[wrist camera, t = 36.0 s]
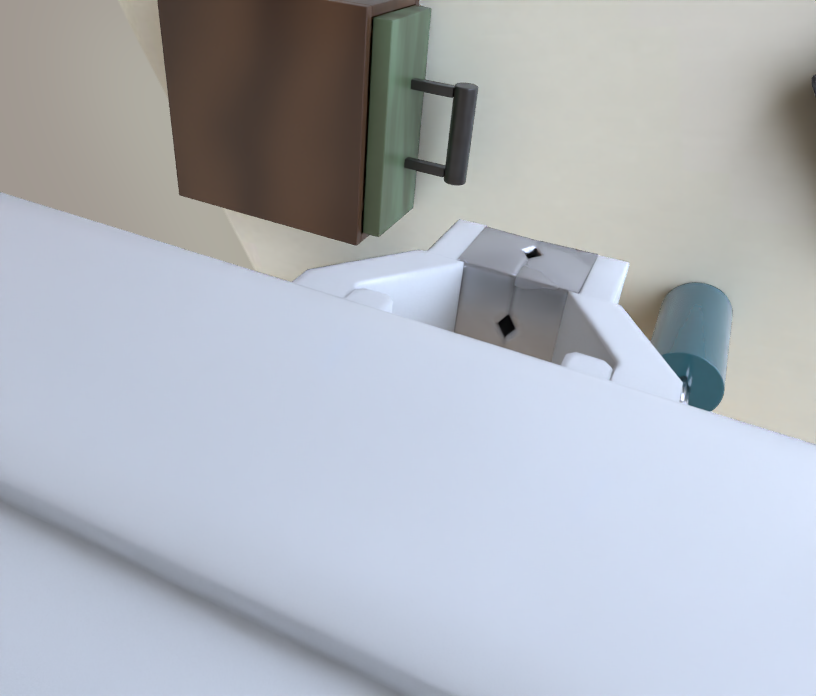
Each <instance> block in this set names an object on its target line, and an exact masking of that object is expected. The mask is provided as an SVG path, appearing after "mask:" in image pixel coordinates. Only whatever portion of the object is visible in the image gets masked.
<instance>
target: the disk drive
mask: <svg viewBox="0 0 816 696" xmlns="http://www.w3.org/2000/svg"><path fill="white" fill-rule="evenodd" d="M812 87H813V90H814V93H815V96H816V74H815V75H814V76H813V77H812Z"/></svg>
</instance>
